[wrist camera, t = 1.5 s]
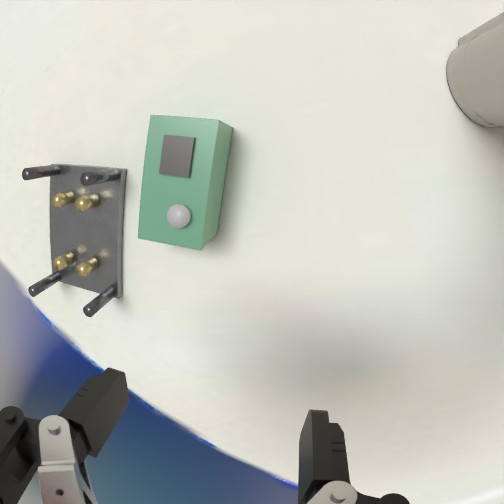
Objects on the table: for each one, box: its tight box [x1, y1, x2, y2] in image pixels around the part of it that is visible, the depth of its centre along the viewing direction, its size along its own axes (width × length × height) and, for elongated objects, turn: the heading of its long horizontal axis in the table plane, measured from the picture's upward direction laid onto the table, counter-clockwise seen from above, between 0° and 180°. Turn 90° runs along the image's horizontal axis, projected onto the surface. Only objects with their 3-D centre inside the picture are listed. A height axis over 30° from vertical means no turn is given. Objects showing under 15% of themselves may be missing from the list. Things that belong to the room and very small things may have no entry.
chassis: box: [22, 164, 127, 317], centre depth 28 cm, size 14×10×6 cm
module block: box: [138, 115, 233, 250], centre depth 25 cm, size 10×6×7 cm, turn 171°
